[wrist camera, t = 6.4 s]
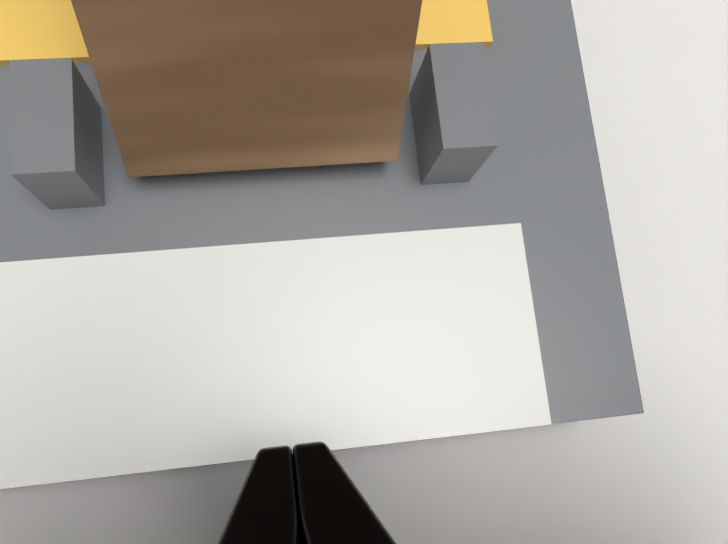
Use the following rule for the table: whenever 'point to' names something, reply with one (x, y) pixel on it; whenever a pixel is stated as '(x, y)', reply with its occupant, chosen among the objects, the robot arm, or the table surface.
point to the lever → (251, 80)
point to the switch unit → (306, 265)
